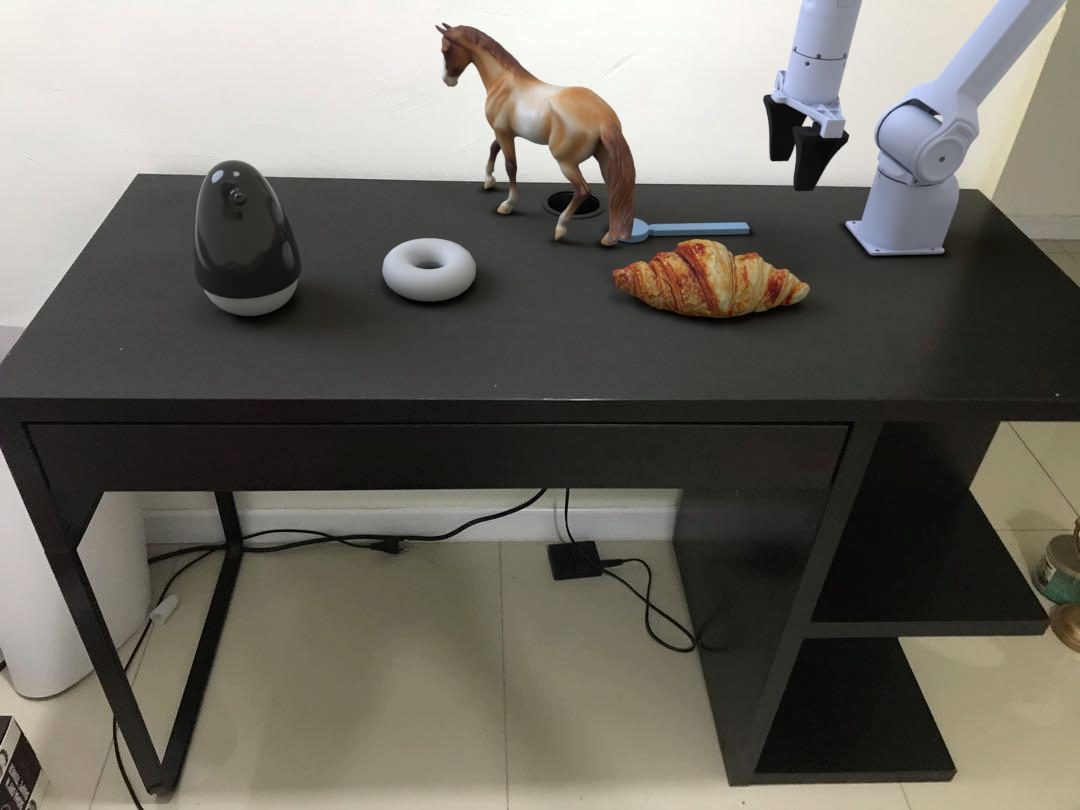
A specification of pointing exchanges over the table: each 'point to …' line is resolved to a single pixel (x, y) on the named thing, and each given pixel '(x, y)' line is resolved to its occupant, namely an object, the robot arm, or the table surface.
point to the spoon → (684, 229)
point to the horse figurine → (546, 126)
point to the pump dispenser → (243, 242)
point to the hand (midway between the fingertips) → (790, 174)
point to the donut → (429, 269)
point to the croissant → (709, 281)
